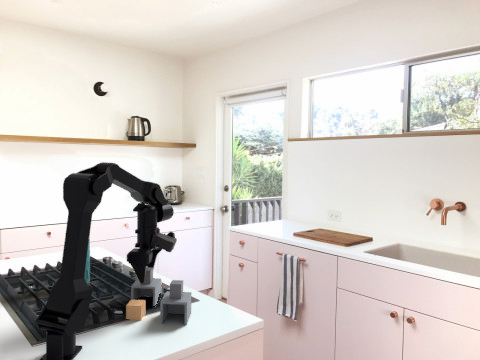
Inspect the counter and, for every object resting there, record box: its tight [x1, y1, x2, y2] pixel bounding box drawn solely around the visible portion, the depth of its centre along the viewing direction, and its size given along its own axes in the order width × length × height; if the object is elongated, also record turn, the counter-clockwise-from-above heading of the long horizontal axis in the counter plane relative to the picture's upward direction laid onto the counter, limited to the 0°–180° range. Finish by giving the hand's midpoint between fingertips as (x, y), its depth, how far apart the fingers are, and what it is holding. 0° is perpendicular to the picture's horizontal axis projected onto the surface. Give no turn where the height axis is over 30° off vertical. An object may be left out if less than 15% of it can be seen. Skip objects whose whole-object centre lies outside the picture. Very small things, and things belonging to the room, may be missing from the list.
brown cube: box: [125, 298, 147, 321], centre depth 99 cm, size 4×4×4 cm
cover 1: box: [130, 267, 162, 307], centre depth 108 cm, size 7×7×10 cm
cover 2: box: [159, 279, 192, 326], centre depth 98 cm, size 7×7×10 cm
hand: (146, 277), depth 108 cm, fingers open, 9 cm apart
